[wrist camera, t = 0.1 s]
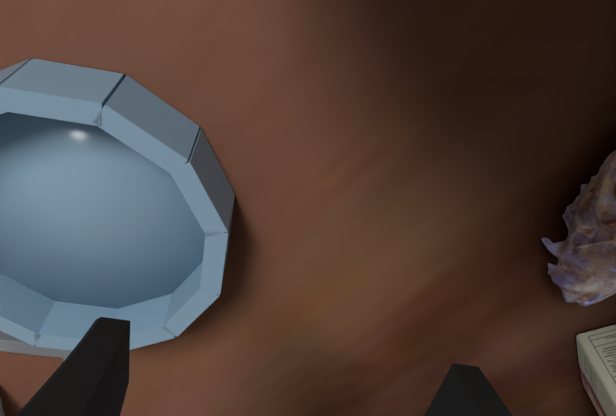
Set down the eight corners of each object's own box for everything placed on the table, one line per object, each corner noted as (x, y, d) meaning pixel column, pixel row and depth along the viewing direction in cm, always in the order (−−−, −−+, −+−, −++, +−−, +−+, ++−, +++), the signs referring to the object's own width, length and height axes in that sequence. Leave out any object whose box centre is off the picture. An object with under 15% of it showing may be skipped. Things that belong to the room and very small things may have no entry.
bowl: (218, 323, 25) (211, 366, 23) (-42, 292, 24) (-74, 334, 22) (248, 94, 19) (242, 126, 17) (-104, 35, 18) (-158, 60, 16)
